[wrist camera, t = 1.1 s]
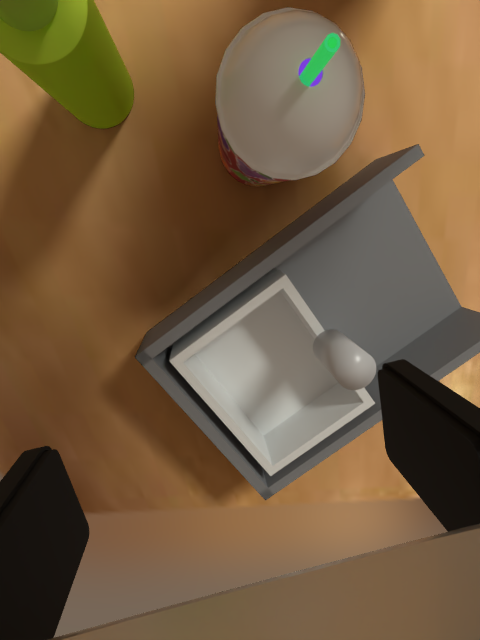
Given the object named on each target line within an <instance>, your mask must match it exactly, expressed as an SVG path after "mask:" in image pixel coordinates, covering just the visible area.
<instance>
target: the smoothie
mask: <svg viewBox="0 0 480 640" xmlns="http://www.w3.org/2000/svg"><path fill="white" fill-rule="evenodd" d="M364 98H365V90H364V82H363V74H362V67H361V65H360V61H359V59H358V57H357V54H356V52H355V50H354V47H353V45H352V43H351V41H350V39H349V38H348V37H347V36H346V35H345V33H344V32H343V31H342V30H341V29H340V28H339V26H338V25H337V24H336V23H334V22H332V21H331V20H329V19H327V18H325V17H324V16H322V15H320V14H318V13H315V12H313V11H309V10H303V9H296V8H290V7H286V8H282V9H278V10H274V11H270V12H265V13H263V14H261V15H260V16H258V17H257V18H255V19H254V20H252V21H251V22H249V23H248V24H246V25H245V26H243V27H242V28H241V29H240V31H239V32H238V33H237V35H236V36H235V37H234V39H233V40H232V42H231V43H230V44H229V46H228V47H227V48H226V50H225V53H224V56H223V59H222V61H221V64H220V67H219V70H218V73H217V76H216V98H215V104H216V109H217V120H218V141H219V152H220V156H221V159H222V163H223V164H224V166H225V168H226V169H227V171H228V172H229V174H230V175H232V176H233V177H234V178H235V179H236V180H237V181H239V182H241V183H244V184H246V185H249V186H265V185H270V184H274V183H279V182H284V181H289V180H298V179H302V178H306V177H310V176H313V175H317V174H318V173H320V172H321V171H323V170H325V169H326V168H328V167H329V166H331V165H332V164H334V163H335V162H336V161H337V160H338V159H339V158H340V157H341V155H342V154H343V153H344V152H345V150H346V149H347V148H348V147H349V146H350V144H351V143H352V141H353V138H354V136H355V134H356V131H357V129H358V127H359V125H360V122H361V120H362V112H363V105H364Z"/></svg>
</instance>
